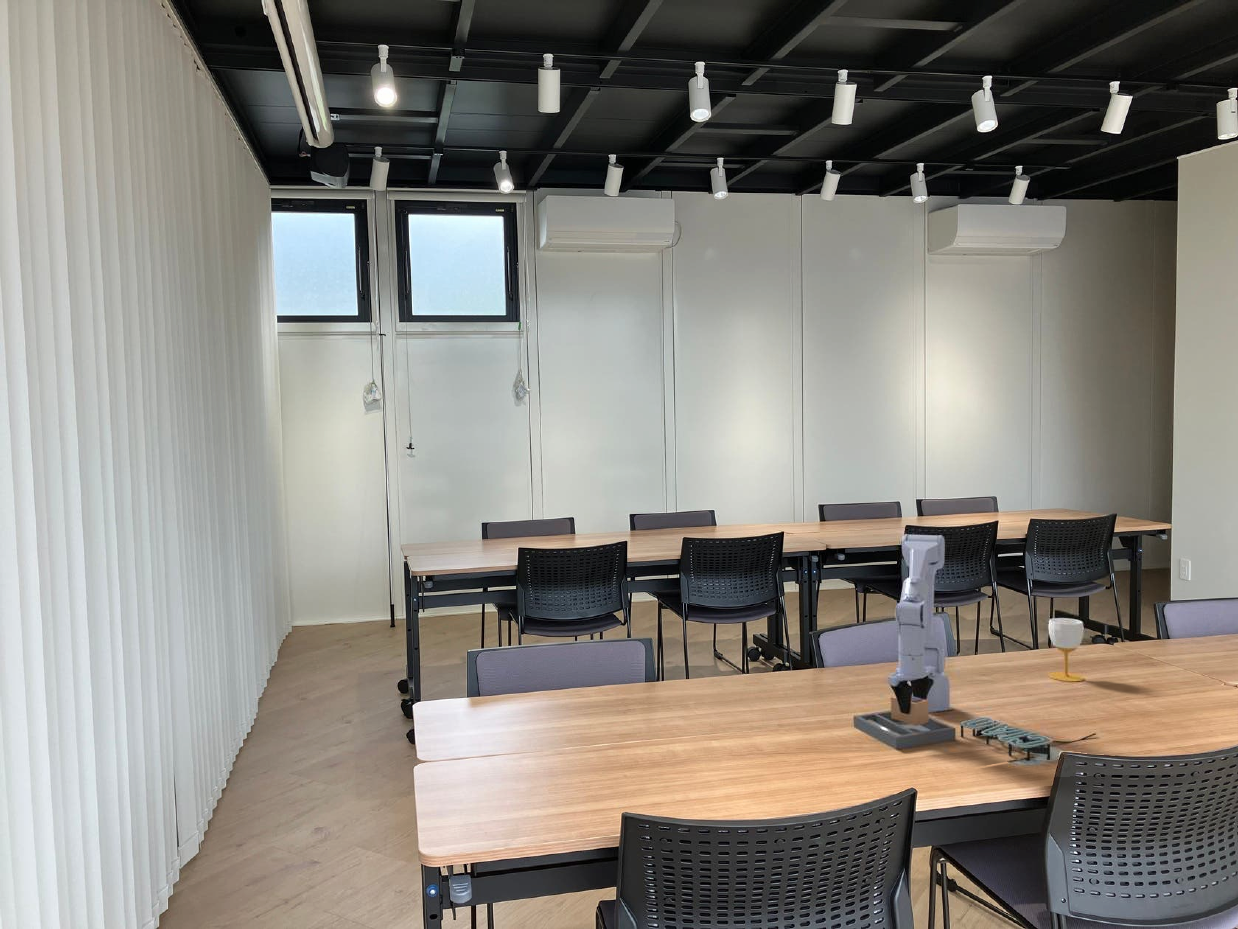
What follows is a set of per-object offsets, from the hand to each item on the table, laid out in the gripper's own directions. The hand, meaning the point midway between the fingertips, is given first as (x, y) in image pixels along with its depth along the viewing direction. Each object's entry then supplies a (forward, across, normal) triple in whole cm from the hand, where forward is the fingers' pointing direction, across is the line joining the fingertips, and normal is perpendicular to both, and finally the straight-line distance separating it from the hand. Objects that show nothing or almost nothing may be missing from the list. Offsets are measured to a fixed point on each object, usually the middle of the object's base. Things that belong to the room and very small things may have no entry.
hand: (912, 711), depth 198 cm
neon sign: (+6, -18, +18) cm, 26 cm away
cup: (+5, -72, -4) cm, 72 cm away
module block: (+2, 0, -1) cm, 2 cm away
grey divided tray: (+5, +2, -1) cm, 6 cm away
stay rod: (+5, +7, -2) cm, 9 cm away
